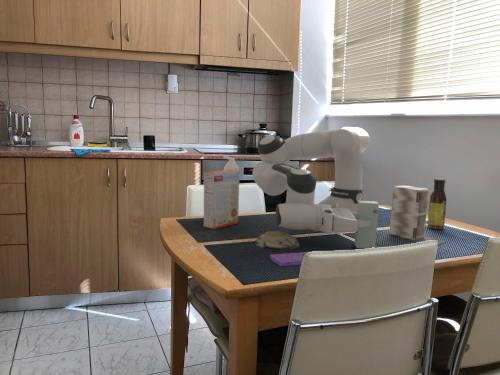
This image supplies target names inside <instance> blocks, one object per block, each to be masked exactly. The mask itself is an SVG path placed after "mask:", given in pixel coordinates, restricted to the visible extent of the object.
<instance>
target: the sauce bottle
mask: <svg viewBox="0 0 500 375" xmlns="http://www.w3.org/2000/svg"><path fill="white" fill-rule="evenodd" d="M433 183H434V186H433V192H431V194H430V196H429V201H428V202H429V203H428V212H427V216H428V217H427V228H428V229H432V230H439V231H440V230H444V229H445V223H446V212H447V200H448V199H447V195H446V192H445V185H446V179H445V178H444V179H443V178H434V180H433Z"/></svg>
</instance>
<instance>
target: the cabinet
mask: <svg viewBox="0 0 500 375" xmlns="http://www.w3.org/2000/svg"><path fill="white" fill-rule="evenodd" d="M429 194H430V188H426V187H420V186H418V187H417V186H411V185H405V184H402V185H396V186H395V185H394V186H393V189H392V201H391V213H390V222H389V223H390V224H389V225H390V226H389V235H391V236H396V237H400V238H404V239H407V240H408V239H409V240H410V242H412V243H415V242H419V241H425V240H438V245H437V246H440V245H442V244H444V243H445V244H446V243H447V241H444V240H440V239H436V238H432V237H427V236H425V234H426V225H427V224H426V223H427V216H428V212H427V211H428V206H429V203H428V202H429Z"/></svg>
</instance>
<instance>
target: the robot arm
mask: <svg viewBox="0 0 500 375" xmlns="http://www.w3.org/2000/svg"><path fill="white" fill-rule="evenodd" d="M370 143H371V136H370V135H369V133H368V132H367V131H366V130H365V129H364V128H361V127H355V126H342V127H341V128H338V129H332V130H331V129H329V130H321V131H314V132H313V131H312V132H308V133H300V134H296V135H294V136H291V137H288V138H286V139H285V138H284V137H280V136H278V135H274V134H273V135H271V134H269V135H266V136H264V137H262V138H261V139H260V140H259V141H258V143H257V150H258V151H257V152H258V154H259V156H260V159H261V162H259V163H257V164H255V165H254V167H253V169H252V177H253V180H254V182H255V184H256V185H257V186H258V188H260V190H261V191H263V193H264V194H267V195H268V196H273V197H274V196H279V195H282V193H284V192H285V191H286V201H285V202H283V203H279V204H277V205H276V208H275V222H276V225H277V226H278V227H281V228H283V229H284V228H285V229H287V230H288V229H289V230H297V231H298V230H299V231H304V230H312V231H316V232H317V231H318V232H323V233H325V234H332V233H355V232H356V231H357V227H364V226H368V227H369V226H370V224H371V222H370V221H369V220H357V205H358V201H363V176H364V173H363V172H364V169H363V168H364V167H363V165H362V156H361V153H363V152H365V151H366V150H367V149H368V148H369V147H370ZM330 157H333V159H334V172H335V173H334V183H333V184H334V186H333V187H331V188H330V187H329V188H328V192H330V193H329V194H330V195H328V196H327V197H326V198H324V199H323V200H321V201H320V202H318V203H315V191H316V187H317V180H318V179H317V177H316V175H314V173H313V172H312V171H310V170H307V169H303V168H298V167H295V166H292V165H291V160H312V159H313V160H314V159H322V158H330Z"/></svg>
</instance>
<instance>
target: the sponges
mask: <svg viewBox="0 0 500 375" xmlns="http://www.w3.org/2000/svg"><path fill="white" fill-rule="evenodd" d="M307 252H308V251H304V252H290V253H279V254H278V253H275V254H270V255H269V258H270V260H271V261H272V262H274V263H275V264H276V265H277V266H279V267H286V266H298V265H302V264H301V261H302V258H303V255H304V254H305V253H307Z"/></svg>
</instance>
